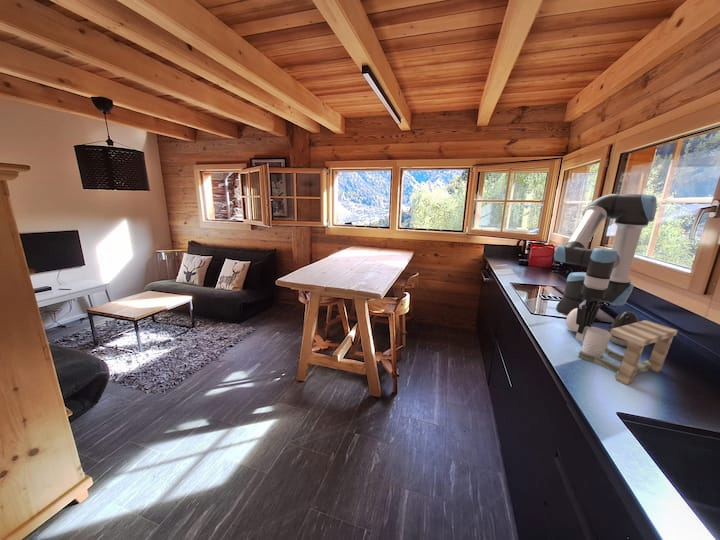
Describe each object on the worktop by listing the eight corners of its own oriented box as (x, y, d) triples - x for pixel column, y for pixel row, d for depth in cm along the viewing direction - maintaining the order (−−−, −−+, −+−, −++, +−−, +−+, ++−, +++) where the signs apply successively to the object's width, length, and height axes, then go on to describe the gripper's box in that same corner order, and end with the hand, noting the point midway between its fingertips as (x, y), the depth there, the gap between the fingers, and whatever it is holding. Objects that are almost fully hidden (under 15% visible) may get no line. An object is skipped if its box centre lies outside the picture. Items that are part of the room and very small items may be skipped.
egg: (562, 330, 136) (567, 307, 133) (566, 326, 141) (572, 304, 138) (580, 336, 131) (587, 312, 128) (584, 332, 136) (591, 309, 133)
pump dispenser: (604, 343, 126) (614, 311, 122) (606, 335, 133) (615, 305, 129) (636, 352, 119) (647, 319, 115) (635, 343, 127) (646, 312, 123)
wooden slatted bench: (605, 347, 122) (616, 310, 118) (662, 371, 106) (677, 330, 102) (571, 357, 112) (581, 318, 108) (628, 386, 96) (643, 341, 92)
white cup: (580, 345, 122) (587, 324, 119) (603, 353, 117) (611, 331, 114) (579, 353, 116) (586, 331, 113) (604, 361, 111) (612, 338, 108)
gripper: (593, 282, 120) (579, 333, 126) (574, 285, 114) (560, 337, 121) (614, 288, 113) (598, 341, 119) (595, 291, 108) (579, 346, 114)
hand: (579, 339), depth 120 cm, fingers closed
